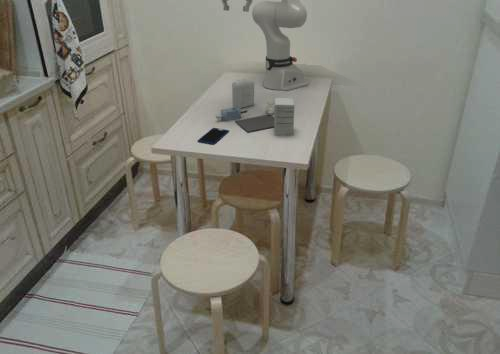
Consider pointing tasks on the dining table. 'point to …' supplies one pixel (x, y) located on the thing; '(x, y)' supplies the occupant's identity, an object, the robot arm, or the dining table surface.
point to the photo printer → (243, 93)
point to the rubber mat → (256, 123)
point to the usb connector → (230, 114)
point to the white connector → (270, 108)
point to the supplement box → (284, 116)
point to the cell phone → (213, 136)
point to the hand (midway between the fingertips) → (235, 11)
